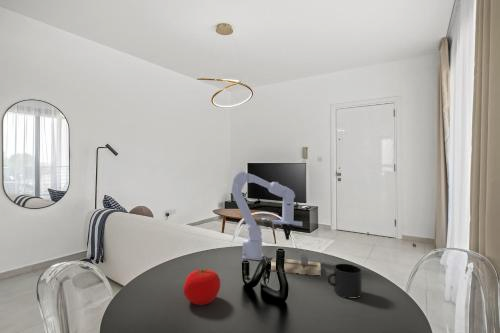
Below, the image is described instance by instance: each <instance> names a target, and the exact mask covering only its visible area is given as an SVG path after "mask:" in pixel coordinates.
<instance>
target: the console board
mask: <svg viewBox="0 0 500 333" xmlns="http://www.w3.org/2000/svg"><path fill="white" fill-rule="evenodd" d="M276 258H277V257H272V258H271V260H270V262H271V271H270V272H277V271H276ZM284 259H285V264H284V269H285V272H284V273H289V274H296V273H299V274H298V275H305V274H308V275H307V276H313V275H320V276H319V277H321V274H322V272H321V271H322V268H321V262H319V261H309V260H308V266H304V265H301V259H300V260H298V259H291V258H290V259H288V258H284Z"/></svg>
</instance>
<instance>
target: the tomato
mask: <svg viewBox="0 0 500 333" xmlns="http://www.w3.org/2000/svg"><path fill="white" fill-rule="evenodd" d="M220 288H221V279H220V276H219V275H218V274H217V272H216V271H215V270H212V269H208V268H203V269H202V268H201V269H198V268H197V269H196V270H194V271H191V272H190V273H189V274H188V275H187V277H186V279H185V282H184V285H183V294H184V296H185V298H186V299H187V301H188V302H190V303H192V304H195V305H198V306H204V305H208V304H210V303H212V302H213V301H214V300H215V299H216V297H217V296H218V294H219V292H220V290H221V289H220Z"/></svg>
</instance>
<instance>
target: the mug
mask: <svg viewBox="0 0 500 333" xmlns="http://www.w3.org/2000/svg"><path fill="white" fill-rule="evenodd" d="M362 272H363V270H362V268H360V267H358V266H357V265H354V264H349V263H338V264H337V263H336V264H335V265H334V268H333V273H330V274H329V275H328V277H327V282H328V285H329V286H331V287H333V291H334V293H335V292H336V293H337V294H339V295H341V296H345V297H358V296H360V295H361V296H362V284H363V283H362V277H363V273H362ZM331 277H333V282H332V281H331ZM336 293H335V294H336ZM337 294H336V295H337ZM339 295H338V296H339ZM341 296H340V297H341Z"/></svg>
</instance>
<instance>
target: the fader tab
mask: <svg viewBox="0 0 500 333" xmlns="http://www.w3.org/2000/svg"><path fill="white" fill-rule="evenodd" d="M300 261H301V265H304V266H308V261H309V254H306V253H301V256H300Z"/></svg>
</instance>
